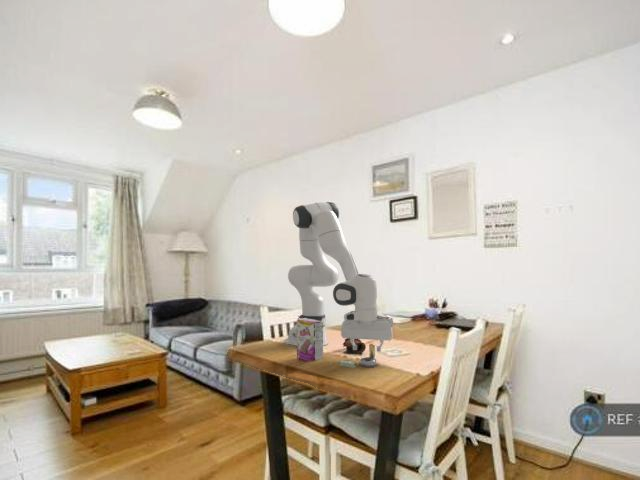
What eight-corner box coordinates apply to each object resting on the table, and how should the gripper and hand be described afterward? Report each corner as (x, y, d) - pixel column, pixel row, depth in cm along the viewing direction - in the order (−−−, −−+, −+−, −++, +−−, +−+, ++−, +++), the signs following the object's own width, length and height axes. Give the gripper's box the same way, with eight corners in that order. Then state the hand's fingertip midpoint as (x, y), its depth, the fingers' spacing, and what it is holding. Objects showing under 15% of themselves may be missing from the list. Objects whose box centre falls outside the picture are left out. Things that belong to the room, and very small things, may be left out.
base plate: (331, 370, 120) (331, 361, 120) (353, 358, 136) (352, 349, 136) (388, 381, 109) (388, 370, 109) (405, 366, 125) (404, 357, 125)
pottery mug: (337, 357, 140) (338, 338, 145) (350, 362, 145) (351, 344, 150) (359, 354, 133) (360, 334, 137) (372, 360, 138) (373, 341, 142)
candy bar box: (296, 359, 135) (296, 319, 137) (305, 356, 139) (305, 317, 140) (314, 364, 127) (314, 322, 129) (323, 362, 131) (323, 320, 132)
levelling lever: (374, 368, 118) (374, 350, 119) (358, 366, 121) (358, 349, 121) (380, 360, 127) (380, 344, 128) (365, 358, 130) (365, 342, 130)
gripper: (393, 314, 130) (394, 350, 129) (343, 313, 135) (343, 346, 135) (392, 317, 124) (393, 354, 123) (339, 315, 129) (340, 350, 128)
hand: (366, 350), depth 129 cm, fingers open, 8 cm apart
